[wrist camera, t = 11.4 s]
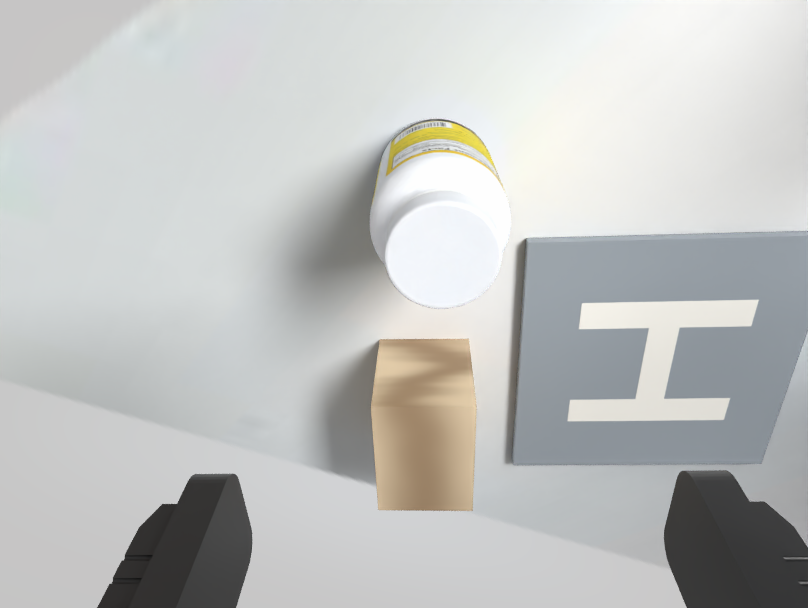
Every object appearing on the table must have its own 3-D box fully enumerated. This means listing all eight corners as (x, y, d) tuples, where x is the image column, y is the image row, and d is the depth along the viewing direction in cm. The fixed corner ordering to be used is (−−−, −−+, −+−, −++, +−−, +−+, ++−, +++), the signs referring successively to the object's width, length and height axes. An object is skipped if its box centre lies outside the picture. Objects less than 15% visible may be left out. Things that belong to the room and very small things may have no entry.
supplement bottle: (450, 244, 30) (459, 352, 21) (359, 188, 29) (330, 278, 20) (516, 156, 28) (556, 238, 19) (420, 91, 26) (418, 146, 18)
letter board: (833, 230, 29) (841, 235, 28) (756, 456, 36) (761, 463, 36) (526, 238, 29) (528, 243, 29) (512, 458, 37) (513, 465, 36)
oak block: (468, 338, 33) (476, 407, 27) (465, 433, 36) (472, 510, 31) (379, 338, 33) (370, 407, 28) (385, 433, 36) (378, 510, 31)
